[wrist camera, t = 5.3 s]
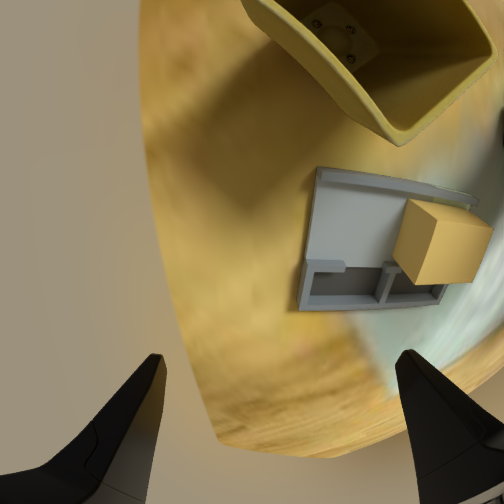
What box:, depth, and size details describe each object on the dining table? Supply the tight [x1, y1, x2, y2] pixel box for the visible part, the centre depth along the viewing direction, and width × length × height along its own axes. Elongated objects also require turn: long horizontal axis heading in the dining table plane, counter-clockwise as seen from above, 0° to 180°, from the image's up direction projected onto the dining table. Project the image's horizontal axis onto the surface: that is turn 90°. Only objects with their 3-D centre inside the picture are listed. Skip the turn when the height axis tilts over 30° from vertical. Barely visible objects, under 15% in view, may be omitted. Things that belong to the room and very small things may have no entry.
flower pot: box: [241, 0, 498, 147], centre depth 9 cm, size 9×9×9 cm
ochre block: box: [392, 198, 494, 285], centre depth 17 cm, size 7×5×4 cm
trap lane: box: [296, 166, 479, 311], centre depth 20 cm, size 15×11×1 cm
